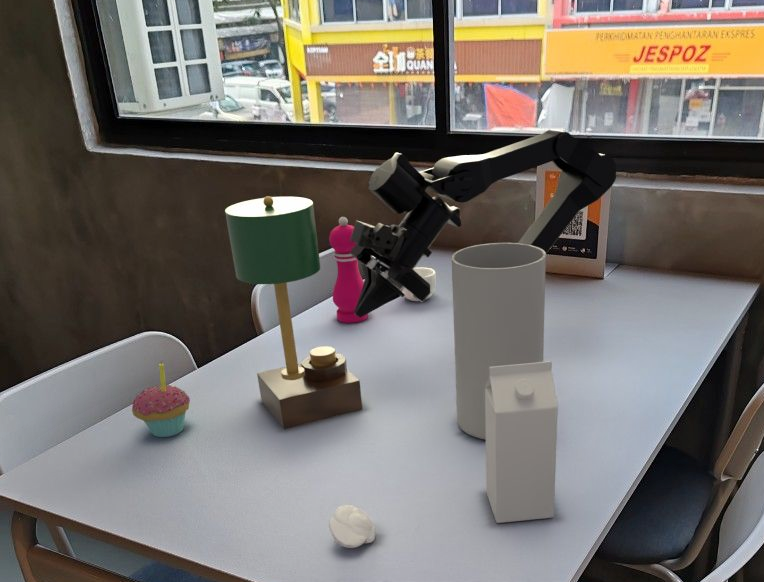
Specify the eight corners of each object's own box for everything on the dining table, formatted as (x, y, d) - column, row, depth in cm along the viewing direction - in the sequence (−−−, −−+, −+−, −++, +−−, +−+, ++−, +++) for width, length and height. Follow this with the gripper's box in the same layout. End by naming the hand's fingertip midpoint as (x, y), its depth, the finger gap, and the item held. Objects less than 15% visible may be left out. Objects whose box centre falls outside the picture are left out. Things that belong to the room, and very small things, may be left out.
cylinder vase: (531, 447, 116) (534, 270, 103) (446, 437, 120) (439, 267, 107) (549, 409, 126) (554, 244, 113) (470, 401, 130) (466, 241, 117)
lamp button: (331, 356, 132) (329, 344, 131) (340, 364, 129) (338, 352, 128) (307, 361, 131) (306, 349, 130) (316, 370, 128) (314, 357, 127)
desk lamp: (317, 354, 132) (295, 183, 119) (344, 380, 123) (324, 196, 109) (244, 371, 128) (213, 195, 115) (267, 398, 119) (236, 210, 105)
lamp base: (335, 383, 139) (330, 344, 136) (362, 409, 130) (358, 368, 126) (261, 401, 135) (254, 361, 131) (284, 429, 126) (277, 387, 122)
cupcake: (205, 421, 130) (190, 349, 124) (175, 446, 123) (158, 371, 117) (159, 416, 133) (141, 346, 126) (127, 440, 126) (108, 367, 120)
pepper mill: (365, 324, 164) (356, 221, 153) (330, 323, 165) (319, 221, 155) (374, 312, 170) (365, 212, 159) (340, 311, 171) (329, 212, 161)
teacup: (427, 305, 171) (426, 279, 168) (394, 302, 174) (392, 277, 171) (445, 290, 179) (444, 265, 176) (413, 288, 182) (412, 263, 179)
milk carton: (486, 494, 106) (484, 355, 96) (540, 488, 106) (544, 350, 96) (496, 524, 100) (495, 379, 90) (554, 518, 100) (559, 373, 90)
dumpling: (342, 526, 102) (347, 497, 101) (380, 539, 101) (386, 511, 99) (317, 548, 96) (321, 518, 94) (357, 563, 95) (362, 533, 93)
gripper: (356, 189, 129) (298, 271, 131) (407, 210, 115) (341, 302, 117) (404, 232, 136) (349, 310, 138) (458, 257, 121) (395, 344, 123)
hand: (356, 315), depth 129 cm, fingers closed
